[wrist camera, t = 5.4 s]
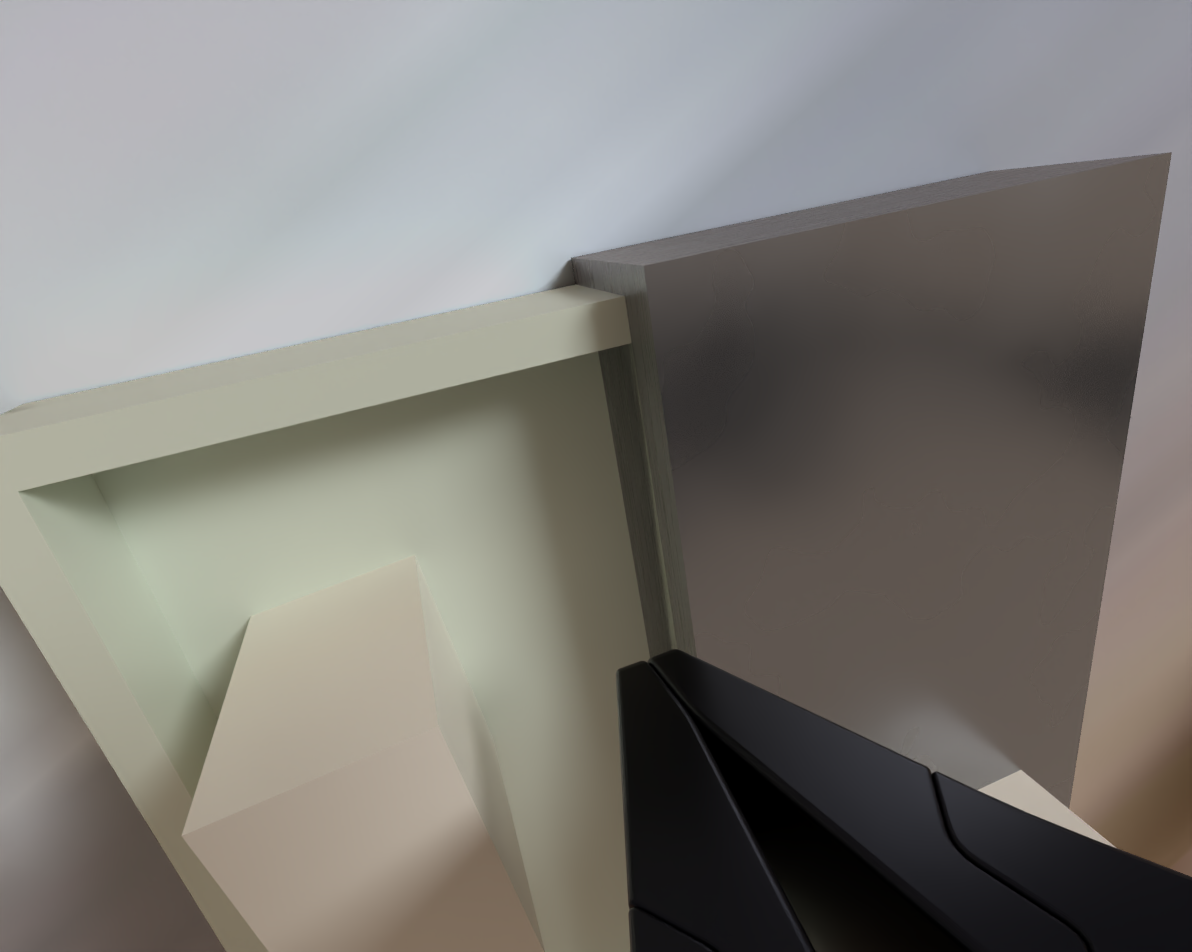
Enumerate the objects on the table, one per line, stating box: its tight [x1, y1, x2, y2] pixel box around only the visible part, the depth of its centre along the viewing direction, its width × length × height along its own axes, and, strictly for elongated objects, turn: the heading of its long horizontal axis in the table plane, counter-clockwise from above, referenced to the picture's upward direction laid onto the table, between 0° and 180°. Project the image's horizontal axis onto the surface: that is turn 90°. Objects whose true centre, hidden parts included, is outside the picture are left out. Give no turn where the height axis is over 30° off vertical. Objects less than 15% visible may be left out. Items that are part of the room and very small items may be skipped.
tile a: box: [182, 555, 545, 952], centre depth 9 cm, size 4×4×2 cm
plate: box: [571, 152, 1172, 809], centre depth 13 cm, size 8×18×3 cm, turn 11°
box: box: [0, 285, 677, 952], centre depth 12 cm, size 8×17×2 cm, turn 11°
